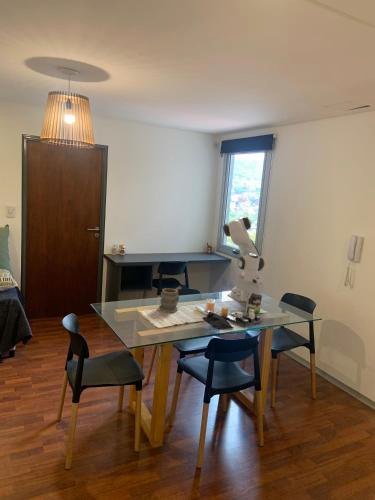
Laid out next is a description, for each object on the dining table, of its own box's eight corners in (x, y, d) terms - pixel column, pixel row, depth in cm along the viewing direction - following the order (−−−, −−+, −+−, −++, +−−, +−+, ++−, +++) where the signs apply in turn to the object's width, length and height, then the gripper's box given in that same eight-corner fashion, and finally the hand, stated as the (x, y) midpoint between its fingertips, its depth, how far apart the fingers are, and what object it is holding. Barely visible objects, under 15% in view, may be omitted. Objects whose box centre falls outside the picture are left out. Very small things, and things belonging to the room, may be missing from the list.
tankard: (169, 314, 250) (171, 293, 247) (155, 308, 257) (157, 288, 254) (186, 308, 265) (188, 288, 263) (173, 303, 273) (175, 283, 270)
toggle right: (248, 313, 255) (249, 309, 254) (250, 312, 256) (251, 308, 256) (251, 314, 253) (252, 310, 252) (254, 314, 254) (254, 310, 254)
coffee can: (262, 315, 266) (264, 297, 264) (250, 316, 262) (252, 297, 260) (254, 310, 276) (257, 292, 273) (242, 311, 272) (245, 292, 269)
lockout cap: (219, 316, 256) (220, 307, 255) (223, 314, 259) (224, 306, 258) (224, 318, 253) (225, 309, 252) (228, 317, 256) (229, 308, 255)
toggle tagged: (248, 317, 247) (249, 312, 246) (250, 316, 248) (251, 312, 248) (252, 318, 244) (252, 314, 244) (254, 318, 246) (254, 313, 246)
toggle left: (236, 316, 246) (237, 312, 245) (238, 316, 247) (239, 311, 247) (240, 318, 243) (240, 313, 243) (242, 317, 245) (242, 313, 245)
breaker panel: (224, 319, 251) (224, 313, 250) (242, 314, 265) (242, 308, 264) (243, 327, 239) (244, 321, 238) (261, 322, 253) (262, 316, 252)
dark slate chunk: (214, 330, 230) (215, 323, 229) (201, 317, 250) (202, 311, 249) (235, 329, 235) (236, 323, 234) (221, 317, 255) (222, 310, 255)
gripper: (235, 274, 250) (232, 293, 253) (260, 282, 236) (257, 302, 239) (240, 273, 255) (238, 292, 257) (265, 281, 241) (262, 301, 243)
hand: (247, 297), depth 248 cm, fingers closed
